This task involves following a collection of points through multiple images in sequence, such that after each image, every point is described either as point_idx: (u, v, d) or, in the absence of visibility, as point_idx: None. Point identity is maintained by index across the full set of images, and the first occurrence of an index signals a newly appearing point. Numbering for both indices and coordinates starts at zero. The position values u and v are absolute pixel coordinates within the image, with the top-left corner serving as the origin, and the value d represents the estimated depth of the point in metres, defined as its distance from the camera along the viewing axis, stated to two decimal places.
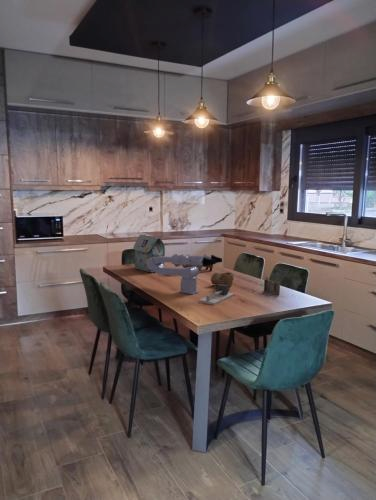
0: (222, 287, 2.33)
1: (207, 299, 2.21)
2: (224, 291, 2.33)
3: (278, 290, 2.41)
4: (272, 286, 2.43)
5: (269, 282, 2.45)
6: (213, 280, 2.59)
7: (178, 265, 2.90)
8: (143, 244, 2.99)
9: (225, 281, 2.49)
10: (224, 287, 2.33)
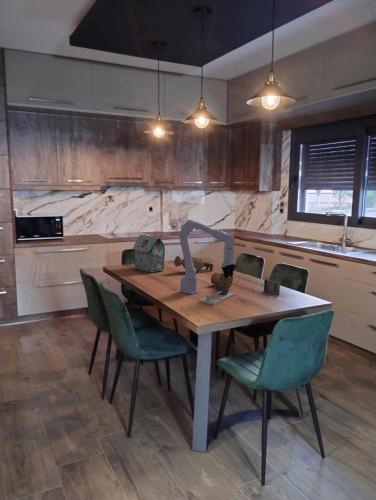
0: (222, 287, 2.33)
1: (207, 299, 2.21)
2: (224, 291, 2.33)
3: (278, 290, 2.41)
4: (272, 286, 2.43)
5: (269, 282, 2.45)
6: (213, 280, 2.59)
7: (178, 265, 2.91)
8: (143, 244, 2.99)
9: (225, 281, 2.49)
10: (224, 287, 2.33)
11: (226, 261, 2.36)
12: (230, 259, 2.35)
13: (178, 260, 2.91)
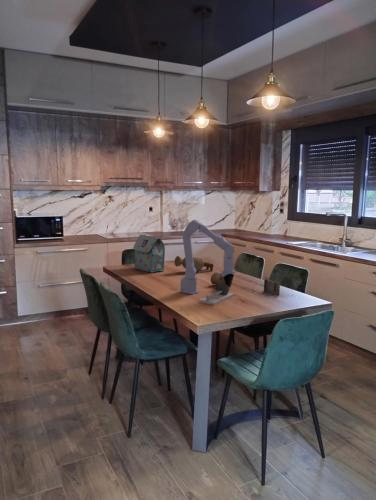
0: (222, 287, 2.33)
1: (207, 299, 2.21)
2: (224, 291, 2.33)
3: (278, 290, 2.41)
4: (272, 286, 2.43)
5: (269, 282, 2.45)
6: (213, 280, 2.59)
7: (178, 265, 2.91)
8: (143, 244, 2.99)
9: (224, 281, 2.49)
10: (224, 287, 2.33)
11: (226, 270, 2.37)
12: (230, 268, 2.36)
13: (178, 260, 2.91)
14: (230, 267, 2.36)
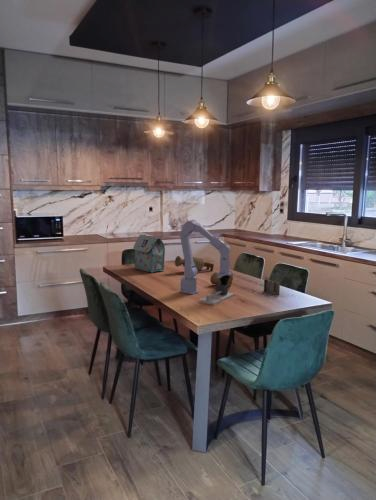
0: (221, 287, 2.33)
1: (207, 299, 2.21)
2: (223, 291, 2.32)
3: (278, 290, 2.41)
4: (272, 286, 2.43)
5: (269, 282, 2.45)
6: (213, 280, 2.59)
7: (179, 265, 2.91)
8: (143, 244, 2.99)
9: None
10: (223, 287, 2.32)
11: (222, 272, 2.33)
12: (226, 270, 2.32)
13: (179, 260, 2.91)
14: (226, 268, 2.32)
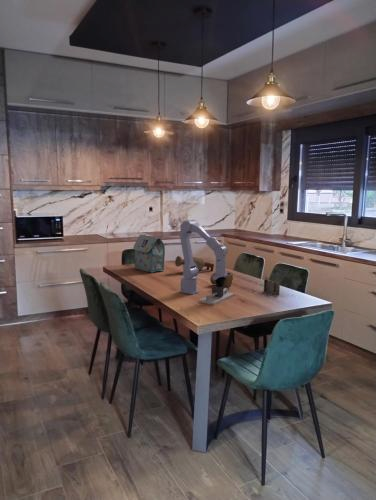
0: (217, 289, 2.28)
1: (207, 299, 2.21)
2: (219, 293, 2.28)
3: (278, 290, 2.41)
4: (272, 286, 2.43)
5: (269, 282, 2.45)
6: (213, 280, 2.59)
7: (179, 265, 2.91)
8: (143, 244, 2.99)
9: (224, 281, 2.49)
10: (219, 289, 2.28)
11: (217, 273, 2.29)
12: (221, 271, 2.28)
13: (179, 260, 2.91)
14: (222, 270, 2.28)
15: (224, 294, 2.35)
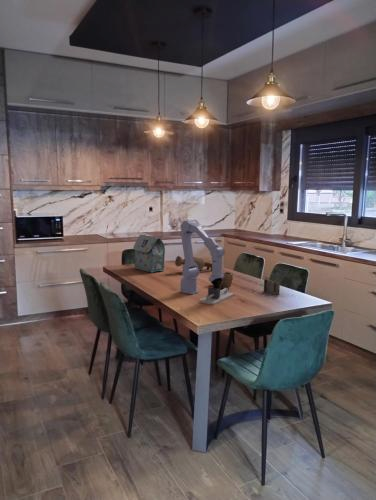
0: (213, 291, 2.25)
1: (207, 299, 2.21)
2: (215, 295, 2.24)
3: (278, 290, 2.41)
4: (271, 286, 2.43)
5: (269, 282, 2.45)
6: None
7: (179, 265, 2.91)
8: (143, 244, 2.99)
9: (224, 281, 2.49)
10: (215, 291, 2.24)
11: (214, 274, 2.25)
12: (218, 272, 2.24)
13: (179, 260, 2.91)
14: (218, 271, 2.24)
15: (224, 294, 2.35)
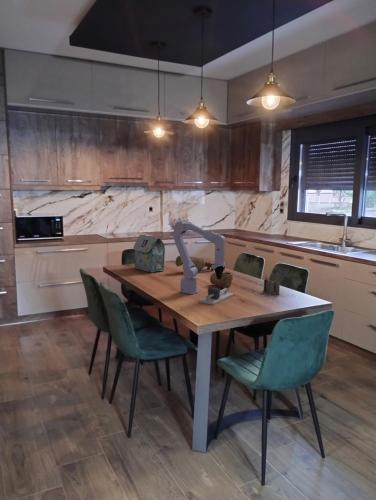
0: (213, 291, 2.25)
1: (207, 299, 2.21)
2: (215, 295, 2.24)
3: (278, 290, 2.41)
4: (271, 286, 2.43)
5: (269, 282, 2.45)
6: (212, 280, 2.59)
7: (180, 265, 2.91)
8: (143, 244, 2.99)
9: (224, 281, 2.50)
10: (215, 291, 2.24)
11: (216, 262, 2.32)
12: (220, 260, 2.31)
13: (179, 260, 2.92)
14: (221, 259, 2.31)
15: (224, 294, 2.35)
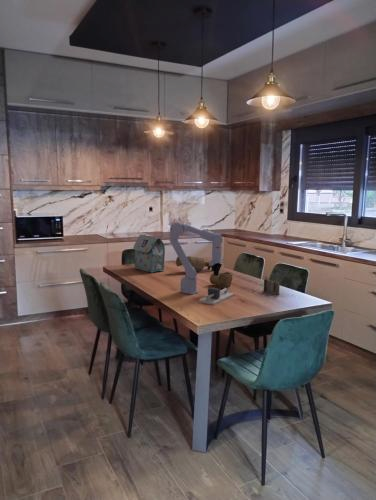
0: (213, 291, 2.25)
1: (207, 299, 2.21)
2: (215, 295, 2.24)
3: (278, 290, 2.41)
4: (271, 286, 2.43)
5: (269, 282, 2.45)
6: (212, 280, 2.60)
7: (180, 265, 2.92)
8: (143, 244, 2.99)
9: (224, 281, 2.50)
10: (215, 291, 2.24)
11: (213, 260, 2.40)
12: (217, 258, 2.39)
13: None
14: (218, 256, 2.39)
15: (224, 294, 2.35)
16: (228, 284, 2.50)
